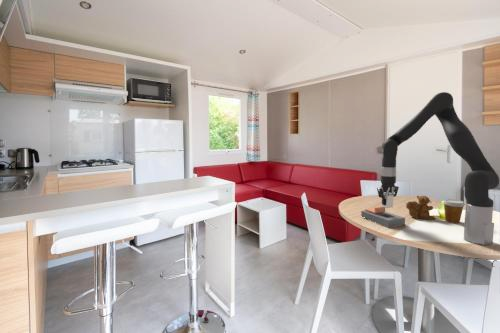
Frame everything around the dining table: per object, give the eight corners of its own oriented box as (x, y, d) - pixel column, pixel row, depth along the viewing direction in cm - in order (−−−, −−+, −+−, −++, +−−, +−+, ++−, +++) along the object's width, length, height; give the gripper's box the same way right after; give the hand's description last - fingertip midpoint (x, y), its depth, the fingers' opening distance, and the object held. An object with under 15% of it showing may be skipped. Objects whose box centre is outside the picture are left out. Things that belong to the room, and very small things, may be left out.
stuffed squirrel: (437, 219, 147) (438, 197, 146) (413, 220, 148) (414, 198, 146) (425, 214, 157) (426, 194, 156) (402, 215, 157) (403, 194, 156)
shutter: (385, 212, 149) (385, 206, 149) (375, 213, 147) (376, 207, 147) (373, 208, 157) (374, 203, 157) (365, 210, 155) (365, 204, 155)
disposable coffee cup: (451, 218, 149) (452, 198, 148) (467, 223, 139) (469, 202, 138) (437, 219, 147) (438, 199, 146) (453, 225, 138) (454, 203, 137)
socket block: (404, 224, 140) (405, 217, 139) (388, 227, 136) (388, 220, 136) (376, 214, 159) (376, 208, 158) (361, 217, 155) (361, 210, 155)
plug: (386, 205, 146) (387, 191, 145) (392, 207, 142) (393, 193, 141) (381, 206, 145) (382, 192, 144) (387, 208, 141) (387, 193, 140)
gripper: (392, 173, 147) (391, 201, 149) (373, 174, 143) (372, 204, 145) (403, 174, 140) (402, 204, 142) (384, 176, 136) (382, 207, 138)
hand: (387, 204), depth 143 cm, fingers closed on plug, 4 cm apart
